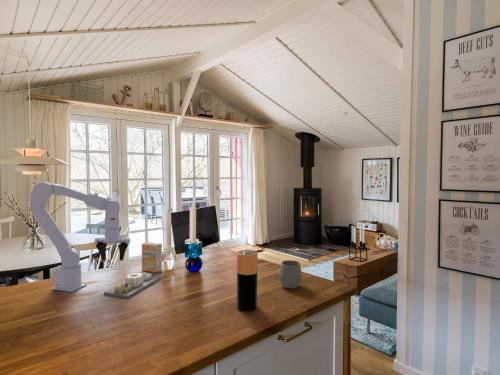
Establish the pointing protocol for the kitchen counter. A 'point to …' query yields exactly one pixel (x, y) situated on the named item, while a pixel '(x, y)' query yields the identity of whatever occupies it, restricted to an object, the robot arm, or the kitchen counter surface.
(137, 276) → the loose gear
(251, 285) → the battery
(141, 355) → the kitchen counter surface
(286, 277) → the cup
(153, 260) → the supplement box
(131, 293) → the gear board
